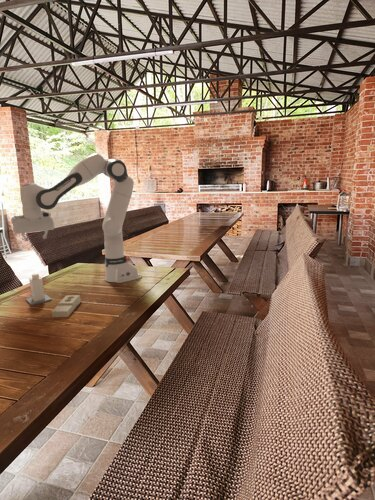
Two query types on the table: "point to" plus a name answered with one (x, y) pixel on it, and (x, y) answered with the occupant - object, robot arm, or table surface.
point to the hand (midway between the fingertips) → (35, 239)
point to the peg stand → (38, 301)
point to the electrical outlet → (66, 306)
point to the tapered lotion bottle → (37, 287)
